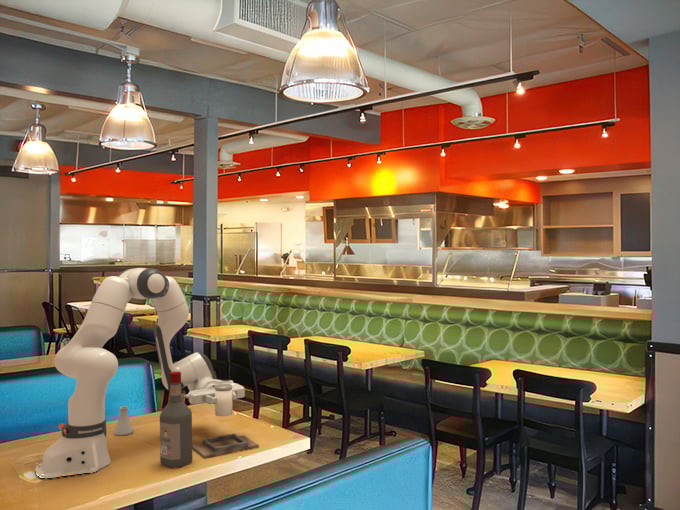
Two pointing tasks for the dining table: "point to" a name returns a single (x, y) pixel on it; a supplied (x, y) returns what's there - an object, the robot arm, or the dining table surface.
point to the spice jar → (223, 400)
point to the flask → (123, 423)
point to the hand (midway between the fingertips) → (224, 399)
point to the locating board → (223, 445)
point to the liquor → (175, 428)
